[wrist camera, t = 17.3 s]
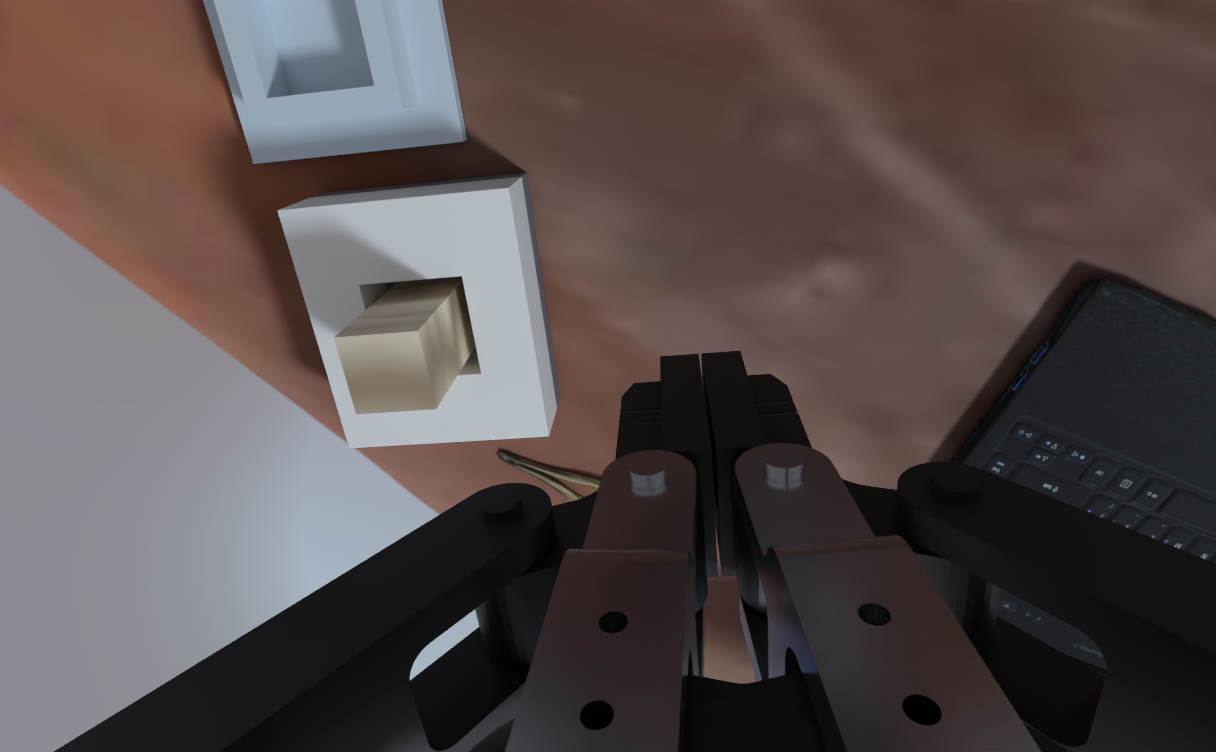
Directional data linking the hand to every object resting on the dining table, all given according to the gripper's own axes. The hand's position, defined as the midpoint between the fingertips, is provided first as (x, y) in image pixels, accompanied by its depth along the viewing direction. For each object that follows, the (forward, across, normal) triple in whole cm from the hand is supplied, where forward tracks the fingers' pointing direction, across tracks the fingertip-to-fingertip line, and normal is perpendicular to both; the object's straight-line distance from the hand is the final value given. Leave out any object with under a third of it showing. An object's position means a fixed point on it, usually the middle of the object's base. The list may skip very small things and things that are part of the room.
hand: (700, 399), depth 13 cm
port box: (+27, +14, +6) cm, 31 cm away
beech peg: (+26, +14, +6) cm, 30 cm away
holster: (+27, +17, -9) cm, 33 cm away
